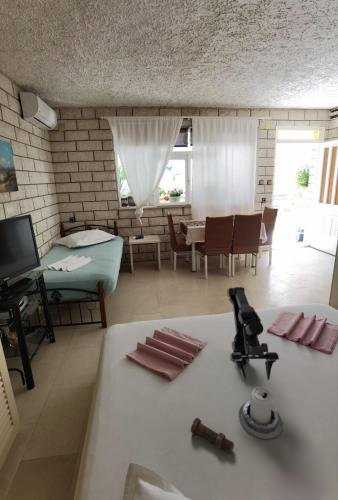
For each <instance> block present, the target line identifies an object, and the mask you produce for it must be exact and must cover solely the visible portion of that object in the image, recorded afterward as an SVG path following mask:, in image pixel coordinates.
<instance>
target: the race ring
mask: <svg viewBox="0 0 338 500" xmlns="http://www.w3.org/2000/svg"><path fill="white" fill-rule="evenodd" d="M250 406H251V400H248V401H247V402H244V403H243V404H242V405H241V406H240V407H239V409H238V419H239V420H238V421H239V422H240V425H241V426H242V428H243V429H244V430H245V431H246V432H247V433H248V434H249V435H251V436H253V437H254V438H257V439H259V440H260V439H261V440H273V439H276V438H277V437H279V436H280V434H281V433H282V431H283V427H284V426H283V425H284V423H283V419H282V417H281V415H280V413H279V412H278V411H277V410H276V409H275V407H273V405H272V409H271V419H270V422H269V423H268V424H266V425H260V424H258V423H256V422H254V421H253V420H252V418H251V416H250Z"/></svg>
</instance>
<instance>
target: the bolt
mask: <svg viewBox="0 0 338 500" xmlns="http://www.w3.org/2000/svg"><path fill="white" fill-rule="evenodd" d="M190 433H191V434H193V435H194V436H196V435H197V434H198V435H200V436H202V437H204V438H205V439H207V440H209V441H211V442H212V443H214V444H215V447H216V448H217V449H219V450H221V449H224V450H225V451H227V452H228V453H232V452H233V450H234V446H235V444H234V443H235V442H233V440H230V439H228V438H226V435H225V434H224V433H222V432H219V433H218V432H217V431H214V430H213V429H211V428H210V427H208V426H206V425H205V424H203V423H202V420H201V419H200V418H199V417H195V418H194V420H193V421H192V423H191V427H190Z"/></svg>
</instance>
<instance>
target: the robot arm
mask: <svg viewBox="0 0 338 500" xmlns="http://www.w3.org/2000/svg"><path fill="white" fill-rule="evenodd" d="M226 294H227V295H226V296H227V297H228V302H230V303H231V305H232V311H233V317H234V325H235V335H234V337H233V340H232V341H231V349H232V353H230V355H229V360H230V362H233V364H236V366H237V368H238V369H239V371H240V373H241V376H242V377H243V380H244V381H246V380H247V377H246V376H247V375H246V372H245V367H244V366H245V365H246V364H247V363H248V362H249V360H265V361H264V365H265V372H266V373H265V374H266V380H267V381H270V378H271V371H272V368H273V364H274V363H276V362H277V361H278V360H280V357H279V354H278V353H277V352H272V351H271V352H269V347H268V343H267V342H262V343H260V340H259V337H258V336H260V335H261V334H262V333H263V332H264V326H263V324H262V323H261V322H262V320H261V318H260V316H259V315H258V313H257V312H256V310H255V308H254V307H253V306H251V305H250V303H249V300H248V298H247V296H246V292H245V288H244V287H242V286H236V287H229V288H228V289H227V290H226Z"/></svg>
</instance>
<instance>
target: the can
mask: <svg viewBox="0 0 338 500" xmlns="http://www.w3.org/2000/svg"><path fill="white" fill-rule="evenodd" d="M271 394H272V393H271V392H270V391H269V389H268V388H265V387H262V386H257V387H255V388H253V390H252V392H251V394H250V401H251V406H250V416H251V418H252V420H253V421H254V422H256V423H258V424H260V425H266V424H268V423H269V422H270V419H271V409H272V406H273V396H272V395H271Z"/></svg>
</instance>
